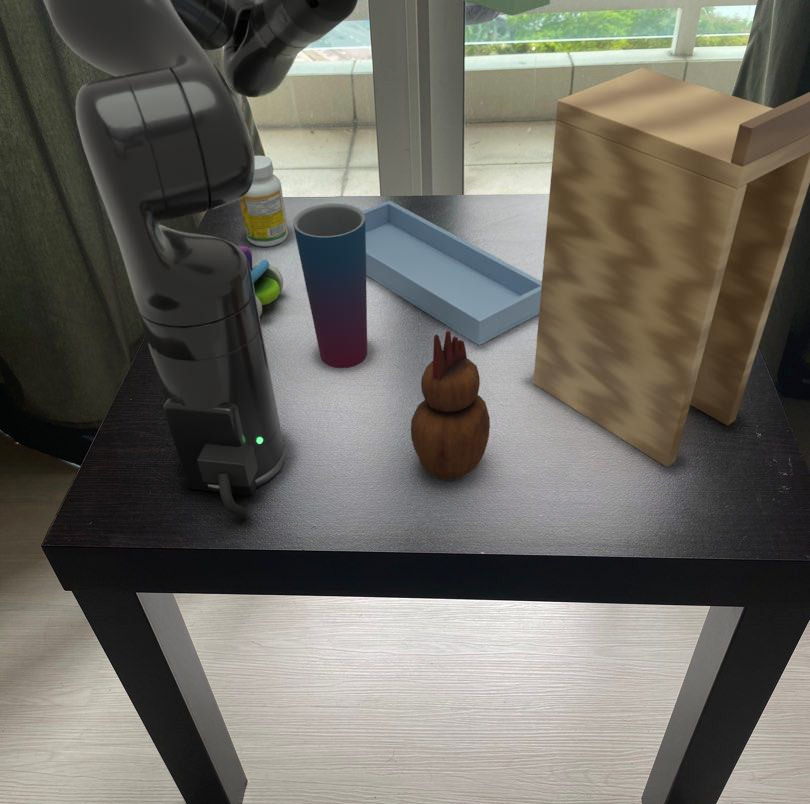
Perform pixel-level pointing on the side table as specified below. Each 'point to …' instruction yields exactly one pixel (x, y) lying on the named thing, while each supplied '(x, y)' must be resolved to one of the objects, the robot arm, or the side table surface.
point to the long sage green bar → (511, 5)
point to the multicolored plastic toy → (264, 280)
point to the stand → (664, 250)
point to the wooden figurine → (450, 414)
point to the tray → (447, 274)
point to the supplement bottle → (264, 206)
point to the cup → (335, 279)
